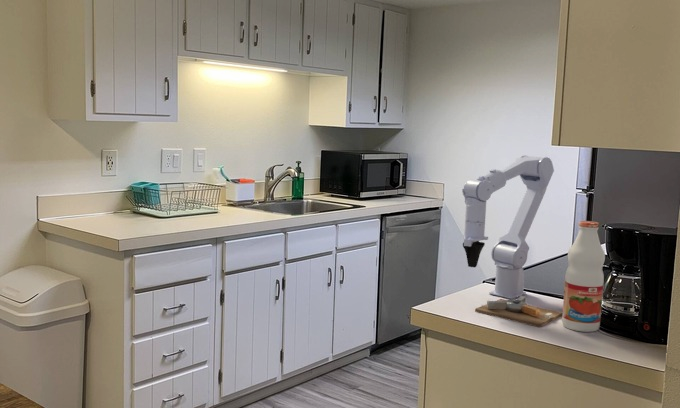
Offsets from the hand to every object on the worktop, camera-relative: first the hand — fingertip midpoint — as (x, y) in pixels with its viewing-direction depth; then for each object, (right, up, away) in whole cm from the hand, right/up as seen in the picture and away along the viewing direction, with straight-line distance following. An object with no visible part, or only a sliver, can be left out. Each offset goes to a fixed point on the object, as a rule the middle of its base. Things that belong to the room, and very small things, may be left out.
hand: (472, 266), depth 193 cm
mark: (+17, -13, -15) cm, 27 cm away
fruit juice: (+24, -14, -20) cm, 35 cm away
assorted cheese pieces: (+11, -11, -11) cm, 19 cm away
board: (+11, -12, -10) cm, 19 cm away
